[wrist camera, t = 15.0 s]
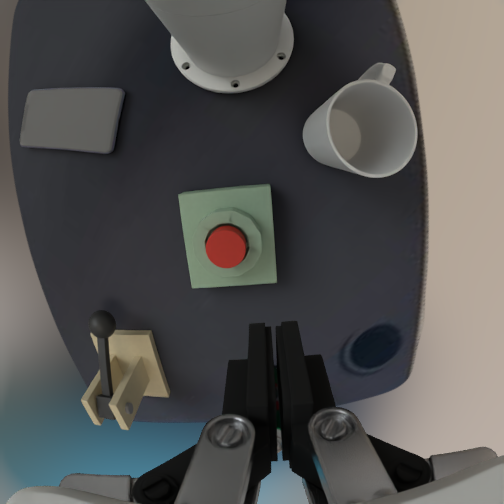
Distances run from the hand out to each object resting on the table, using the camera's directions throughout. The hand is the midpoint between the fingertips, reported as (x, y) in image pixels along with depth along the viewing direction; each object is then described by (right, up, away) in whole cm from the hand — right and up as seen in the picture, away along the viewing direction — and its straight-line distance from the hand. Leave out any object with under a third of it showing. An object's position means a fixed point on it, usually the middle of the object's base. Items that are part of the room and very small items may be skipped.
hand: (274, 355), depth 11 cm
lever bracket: (-18, -12, +28) cm, 35 cm away
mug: (+8, +17, +18) cm, 26 cm away
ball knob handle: (-18, -10, +22) cm, 30 cm away
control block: (-3, +6, +22) cm, 23 cm away
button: (-3, +4, +18) cm, 19 cm away
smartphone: (-22, +19, +18) cm, 34 cm away
